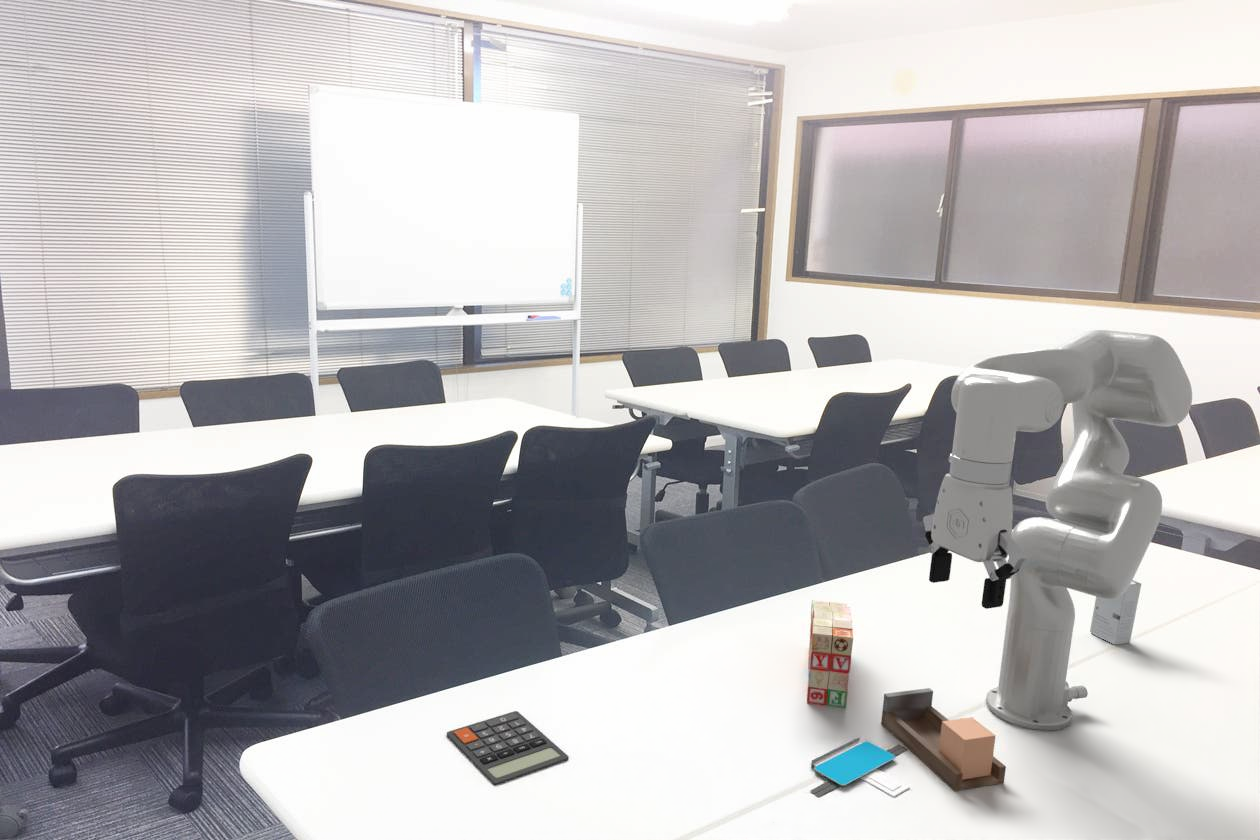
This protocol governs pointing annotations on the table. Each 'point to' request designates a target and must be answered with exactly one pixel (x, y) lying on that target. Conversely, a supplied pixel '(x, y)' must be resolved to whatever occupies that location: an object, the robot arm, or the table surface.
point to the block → (967, 746)
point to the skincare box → (1116, 616)
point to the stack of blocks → (829, 654)
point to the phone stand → (857, 767)
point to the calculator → (506, 747)
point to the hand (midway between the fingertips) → (964, 593)
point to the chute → (929, 736)
